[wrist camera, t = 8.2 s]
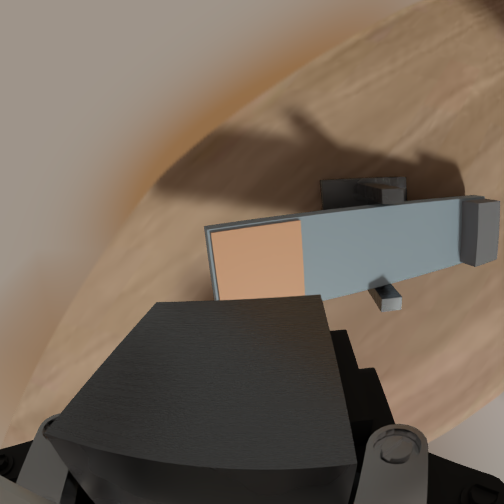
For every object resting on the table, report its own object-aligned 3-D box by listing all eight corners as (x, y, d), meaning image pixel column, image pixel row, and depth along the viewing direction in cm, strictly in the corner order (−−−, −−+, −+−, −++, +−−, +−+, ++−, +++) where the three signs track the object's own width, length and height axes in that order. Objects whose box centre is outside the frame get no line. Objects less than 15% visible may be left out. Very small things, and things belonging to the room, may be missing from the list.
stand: (402, 176, 27) (443, 181, 19) (402, 274, 30) (437, 309, 21) (320, 180, 28) (334, 185, 20) (325, 281, 31) (338, 321, 22)
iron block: (320, 294, 9) (356, 463, 3) (319, 418, 10) (329, 565, 5) (156, 302, 10) (44, 433, 4) (187, 418, 11) (136, 548, 5)
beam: (473, 195, 26) (500, 198, 23) (471, 253, 27) (496, 261, 24) (204, 226, 20) (211, 235, 17) (216, 313, 22) (225, 336, 18)
